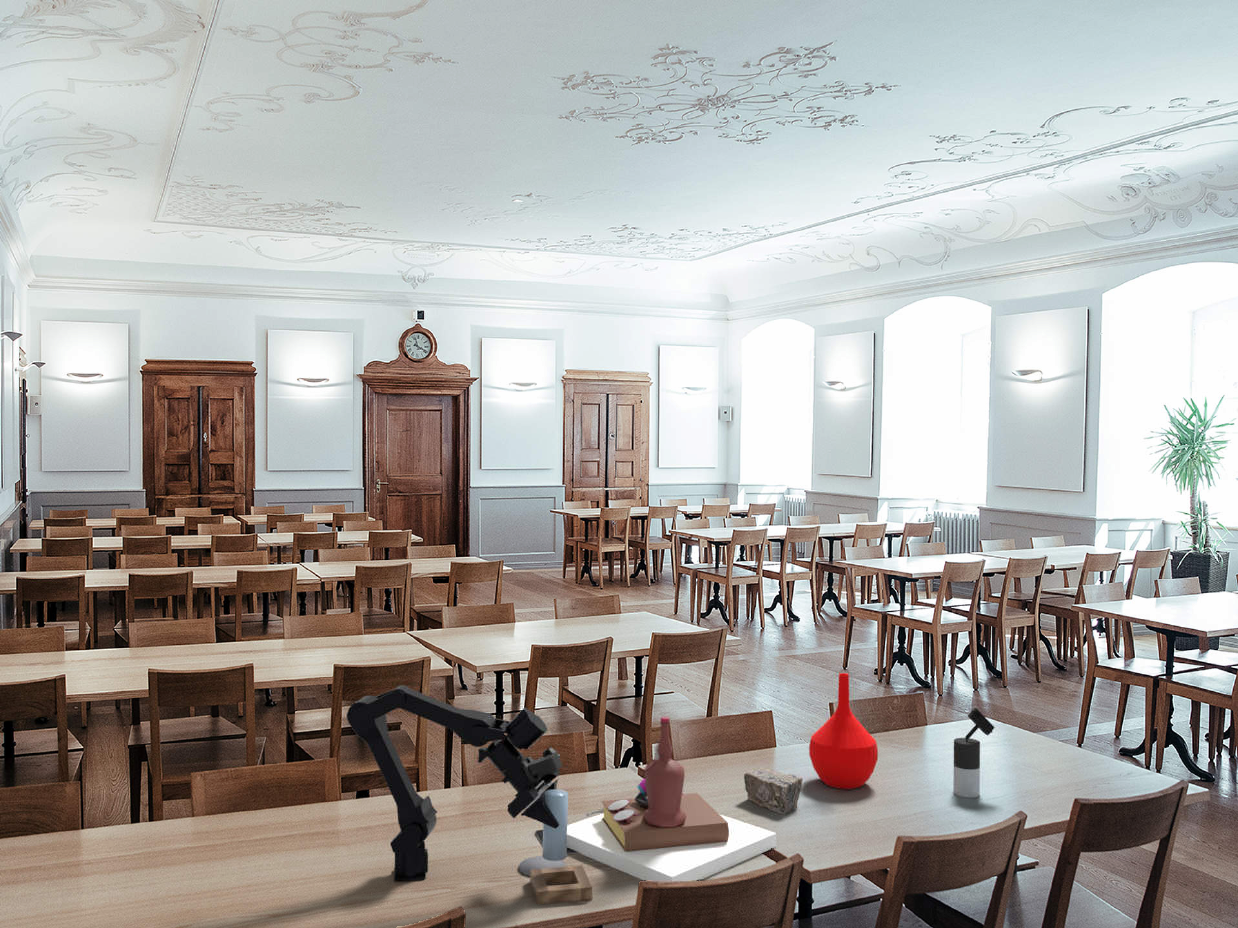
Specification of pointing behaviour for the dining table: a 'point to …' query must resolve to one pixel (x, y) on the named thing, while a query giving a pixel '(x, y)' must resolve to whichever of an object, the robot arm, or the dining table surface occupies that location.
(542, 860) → the coaster
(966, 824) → the dining table surface
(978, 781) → the track light
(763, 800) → the stone block
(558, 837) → the pale blue cylinder
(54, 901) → the dining table surface
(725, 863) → the decorative still life
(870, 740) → the vase
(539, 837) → the black cell phone
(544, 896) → the pocket block
